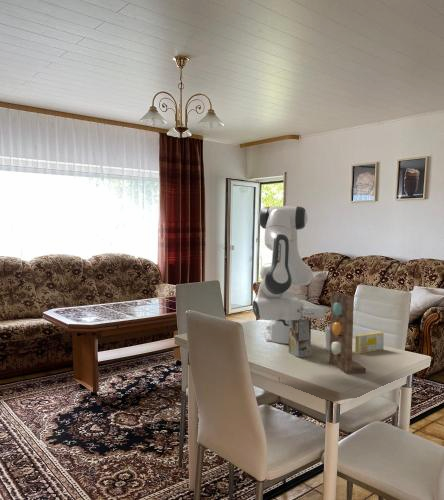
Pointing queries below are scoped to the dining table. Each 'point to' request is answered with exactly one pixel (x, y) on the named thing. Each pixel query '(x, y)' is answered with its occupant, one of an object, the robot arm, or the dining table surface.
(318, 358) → the dining table surface
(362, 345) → the candy box
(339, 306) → the teal button
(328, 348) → the white cup
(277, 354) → the dining table surface
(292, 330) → the coffee box
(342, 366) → the button panel
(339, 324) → the orange button
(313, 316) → the robot arm
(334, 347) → the cream button
